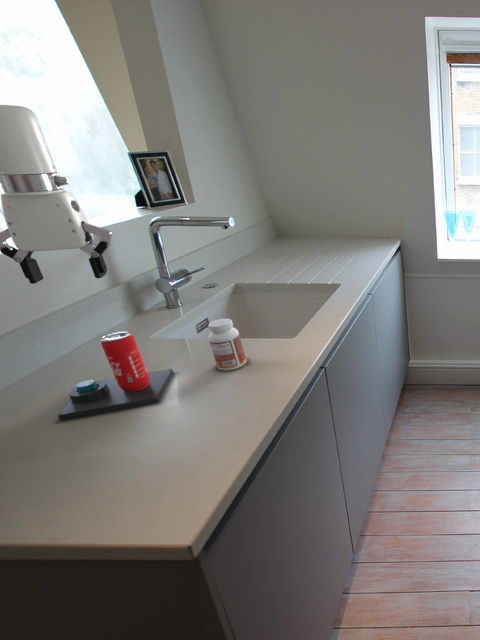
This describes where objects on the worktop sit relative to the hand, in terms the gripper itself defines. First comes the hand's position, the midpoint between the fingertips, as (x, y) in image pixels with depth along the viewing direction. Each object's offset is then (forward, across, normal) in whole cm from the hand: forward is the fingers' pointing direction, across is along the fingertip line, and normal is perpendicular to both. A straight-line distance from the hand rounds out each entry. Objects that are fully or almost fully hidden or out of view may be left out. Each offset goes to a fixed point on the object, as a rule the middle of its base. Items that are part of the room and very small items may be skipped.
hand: (69, 278), depth 84 cm
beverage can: (+24, -4, +1) cm, 25 cm away
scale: (+26, -2, +1) cm, 26 cm away
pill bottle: (+25, -22, -5) cm, 33 cm away
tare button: (+23, +3, +1) cm, 23 cm away
